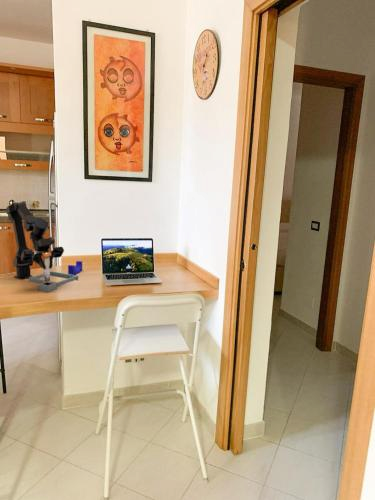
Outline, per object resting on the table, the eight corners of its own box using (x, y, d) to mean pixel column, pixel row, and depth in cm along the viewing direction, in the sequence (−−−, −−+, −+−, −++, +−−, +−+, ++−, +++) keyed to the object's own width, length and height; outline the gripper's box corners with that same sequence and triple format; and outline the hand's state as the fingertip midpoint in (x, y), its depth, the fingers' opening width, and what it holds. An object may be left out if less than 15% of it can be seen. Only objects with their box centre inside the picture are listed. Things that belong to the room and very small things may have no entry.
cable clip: (74, 270, 220) (74, 260, 219) (82, 271, 219) (82, 261, 218) (65, 275, 208) (65, 265, 207) (73, 276, 208) (73, 266, 207)
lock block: (37, 293, 176) (37, 284, 175) (46, 290, 182) (46, 281, 181) (48, 295, 174) (47, 286, 173) (56, 292, 180) (56, 283, 179)
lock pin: (40, 281, 176) (39, 252, 173) (46, 278, 179) (46, 251, 177) (47, 282, 174) (46, 253, 171) (53, 280, 178) (53, 252, 175)
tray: (28, 283, 191) (28, 277, 190) (51, 276, 205) (50, 271, 205) (57, 289, 184) (57, 283, 184) (78, 281, 199) (78, 275, 198)
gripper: (22, 232, 169) (31, 261, 163) (62, 230, 181) (72, 257, 175) (16, 246, 176) (25, 274, 170) (55, 243, 188) (65, 269, 183)
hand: (48, 268), depth 174 cm, fingers closed on lock pin, 3 cm apart
